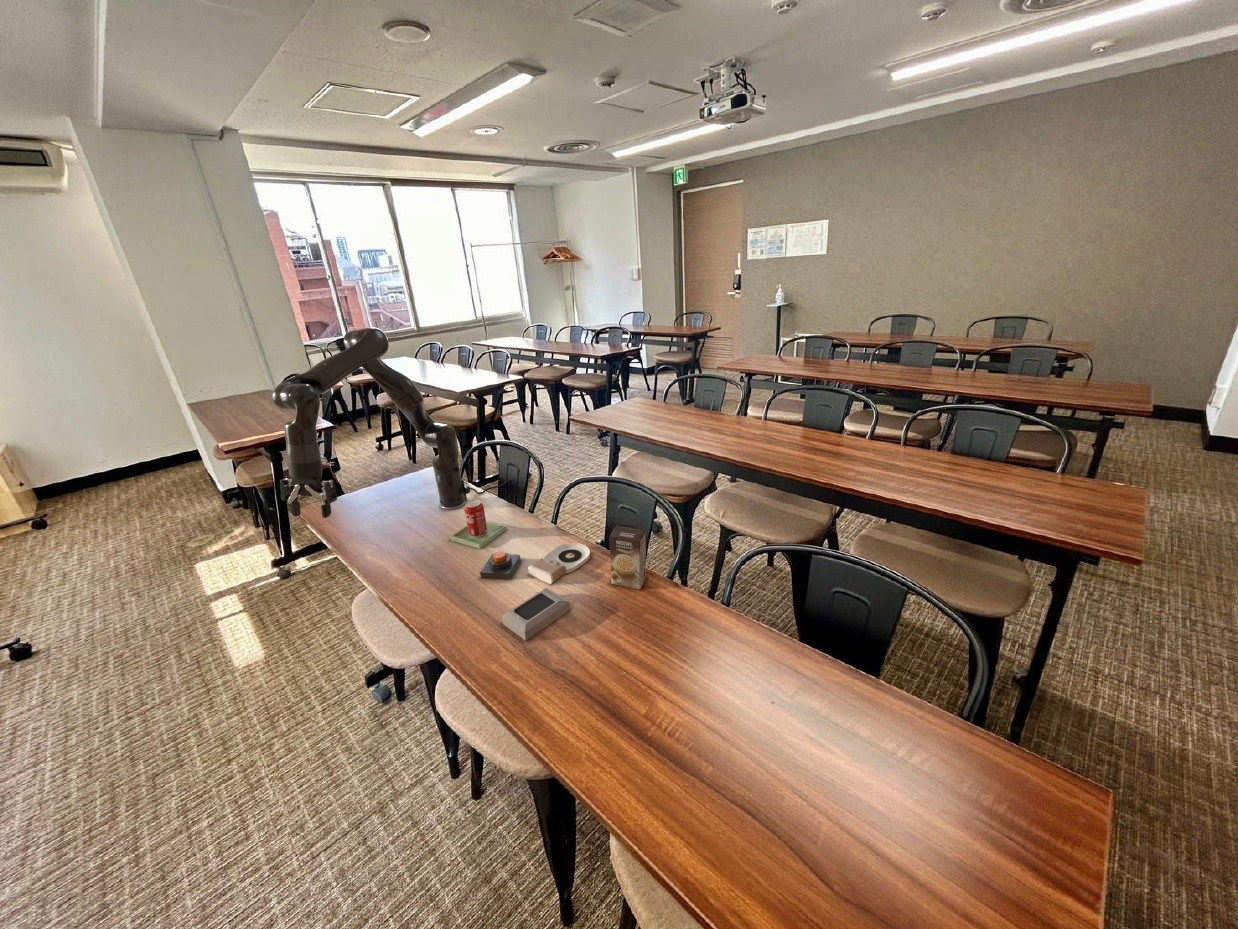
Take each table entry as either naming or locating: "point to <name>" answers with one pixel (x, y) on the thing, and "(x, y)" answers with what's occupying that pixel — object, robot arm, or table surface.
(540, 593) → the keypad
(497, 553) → the button
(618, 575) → the coffee box
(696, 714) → the table surface
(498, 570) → the button box
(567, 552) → the record player
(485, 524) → the beverage can
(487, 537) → the tray
